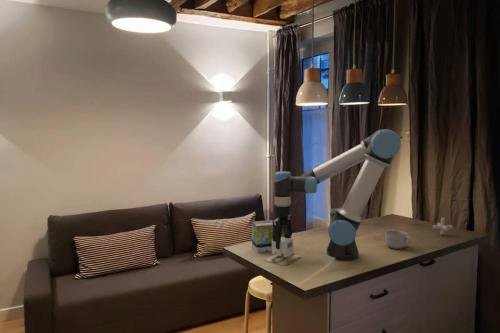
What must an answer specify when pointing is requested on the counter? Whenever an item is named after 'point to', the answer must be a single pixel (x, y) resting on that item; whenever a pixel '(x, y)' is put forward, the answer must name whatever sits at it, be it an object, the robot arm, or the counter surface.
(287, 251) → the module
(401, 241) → the teacup
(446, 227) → the pipe connector
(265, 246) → the tea box
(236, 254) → the counter surface
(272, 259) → the rail board
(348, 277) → the counter surface
